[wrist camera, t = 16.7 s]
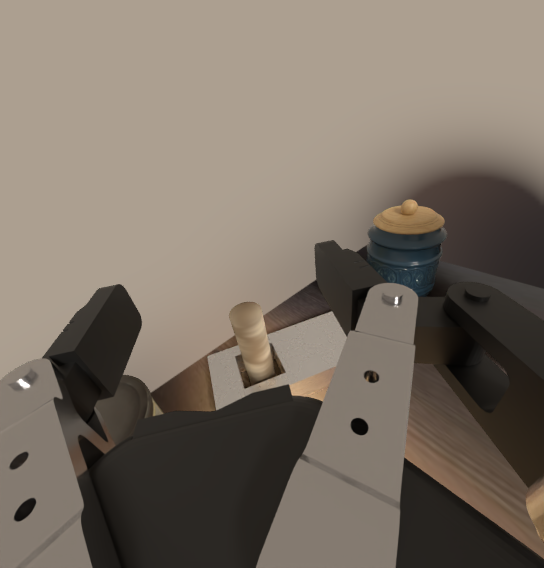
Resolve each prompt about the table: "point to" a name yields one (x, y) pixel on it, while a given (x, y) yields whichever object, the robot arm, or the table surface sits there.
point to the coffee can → (127, 408)
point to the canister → (407, 246)
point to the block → (284, 361)
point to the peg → (253, 341)
